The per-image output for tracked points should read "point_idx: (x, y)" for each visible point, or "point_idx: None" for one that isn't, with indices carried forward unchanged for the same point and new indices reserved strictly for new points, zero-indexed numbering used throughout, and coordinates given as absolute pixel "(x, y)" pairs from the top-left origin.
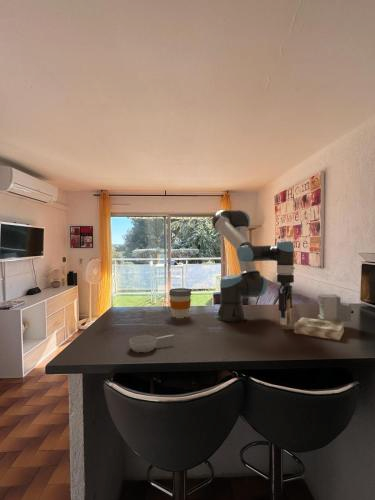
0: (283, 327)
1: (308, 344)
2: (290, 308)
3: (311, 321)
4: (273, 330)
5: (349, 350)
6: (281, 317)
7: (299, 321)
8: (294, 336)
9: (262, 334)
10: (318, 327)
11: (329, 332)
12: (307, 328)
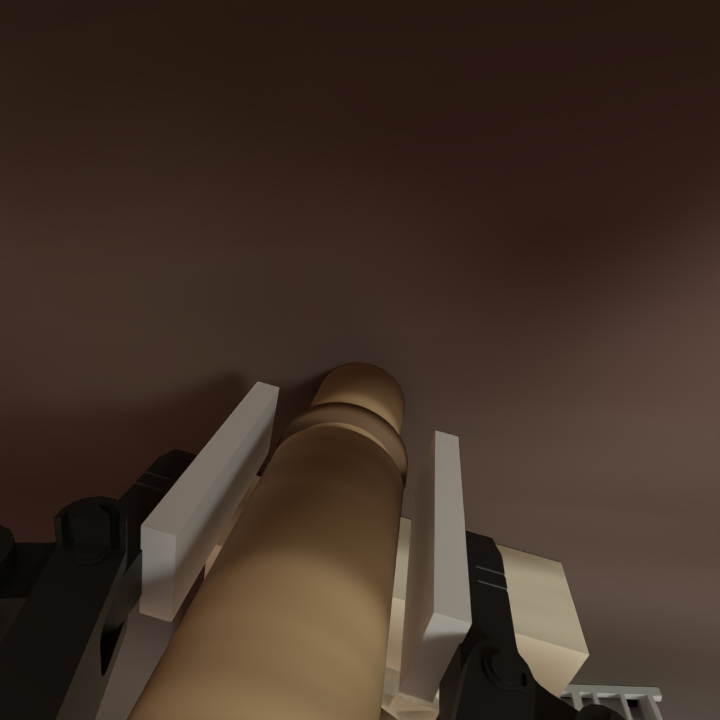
0: (318, 390)
1: (19, 537)
2: (426, 697)
3: (399, 697)
4: (235, 269)
5: None
6: (172, 454)
7: None
8: (142, 467)
9: (12, 153)
10: None
11: None
12: None
